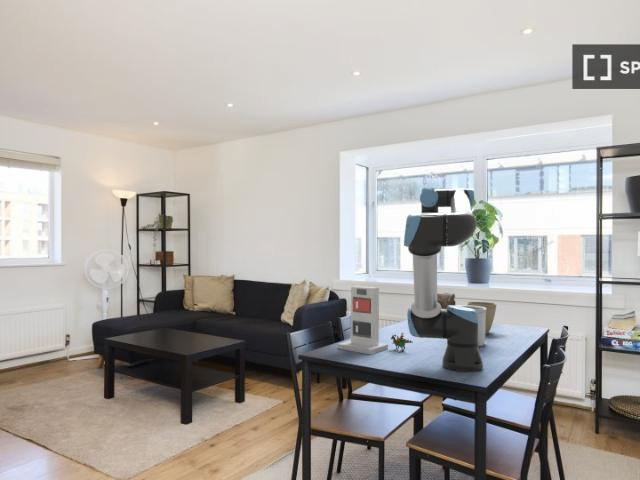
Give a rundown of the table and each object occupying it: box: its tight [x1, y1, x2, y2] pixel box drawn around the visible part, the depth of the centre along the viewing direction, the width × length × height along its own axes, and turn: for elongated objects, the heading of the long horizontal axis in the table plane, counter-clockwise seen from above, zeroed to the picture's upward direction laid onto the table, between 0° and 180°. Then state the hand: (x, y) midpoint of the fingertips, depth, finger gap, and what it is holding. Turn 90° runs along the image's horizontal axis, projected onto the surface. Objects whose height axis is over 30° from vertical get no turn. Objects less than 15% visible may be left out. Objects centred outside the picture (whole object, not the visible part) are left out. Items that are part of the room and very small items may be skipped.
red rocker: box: [353, 299, 371, 311], centre depth 206 cm, size 2×8×5 cm, turn 61°
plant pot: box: [467, 301, 497, 335], centre depth 247 cm, size 15×15×16 cm
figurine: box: [390, 332, 414, 352], centre depth 203 cm, size 3×12×8 cm, turn 45°
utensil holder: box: [457, 304, 486, 347], centre depth 219 cm, size 15×15×18 cm
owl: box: [437, 292, 456, 309], centre depth 260 cm, size 13×13×20 cm
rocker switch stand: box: [337, 285, 389, 355], centre depth 207 cm, size 14×18×28 cm
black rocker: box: [353, 323, 371, 336], centre depth 206 cm, size 2×8×5 cm, turn 63°
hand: (429, 274), depth 203 cm, fingers closed
